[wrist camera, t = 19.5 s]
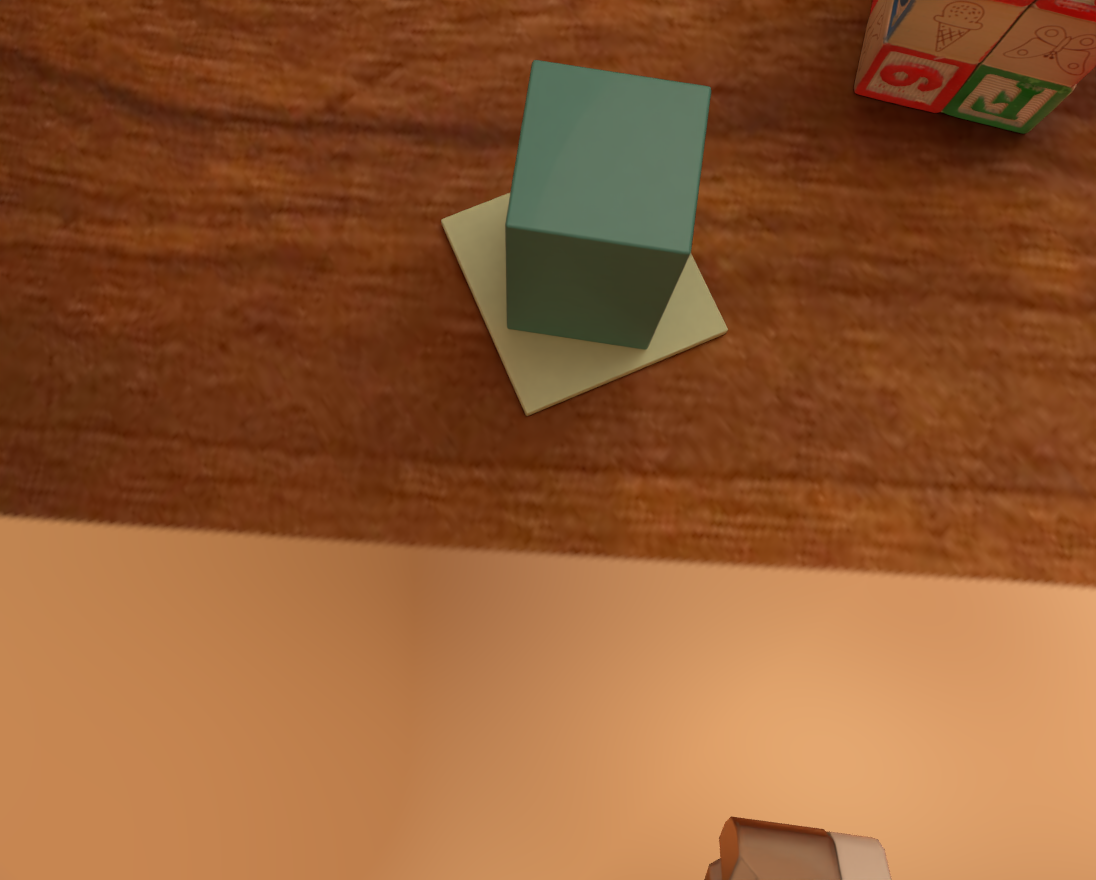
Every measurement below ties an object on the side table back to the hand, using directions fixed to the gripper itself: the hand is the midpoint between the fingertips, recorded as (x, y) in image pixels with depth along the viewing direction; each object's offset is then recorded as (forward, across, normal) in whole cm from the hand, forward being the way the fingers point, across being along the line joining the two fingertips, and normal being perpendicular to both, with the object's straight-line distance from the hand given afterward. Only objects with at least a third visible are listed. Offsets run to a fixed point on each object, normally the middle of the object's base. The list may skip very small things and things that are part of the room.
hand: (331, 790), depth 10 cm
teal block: (+24, -2, +4) cm, 24 cm away
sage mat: (+24, -2, +5) cm, 24 cm away
